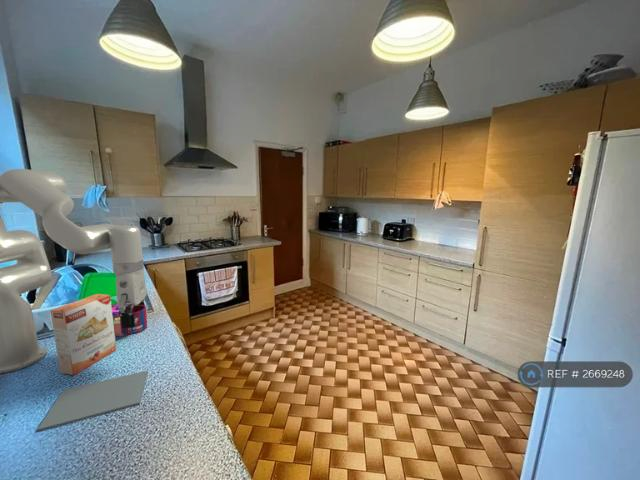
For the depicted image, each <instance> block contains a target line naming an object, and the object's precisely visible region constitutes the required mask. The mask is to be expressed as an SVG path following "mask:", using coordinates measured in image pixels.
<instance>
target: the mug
mask: <svg viewBox="0 0 640 480" xmlns="http://www.w3.org/2000/svg"><path fill="white" fill-rule="evenodd" d="M146 308H147V306H146V305H145V306H144V305H137V306H135V305H133V313H132V314H134V319H135V326H134V327H130V328H122V323H121V316H120V325H121V333H122V334H124V335H123V336H131V335H137V334H140V333H142V332H144V331H146V329H147V328H148V316H146ZM126 309H128V310H129V309H130V307H126ZM119 315H120V313H119Z"/></svg>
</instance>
